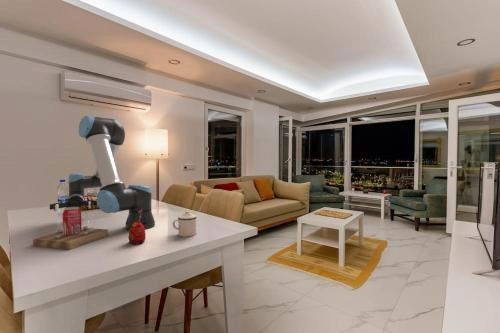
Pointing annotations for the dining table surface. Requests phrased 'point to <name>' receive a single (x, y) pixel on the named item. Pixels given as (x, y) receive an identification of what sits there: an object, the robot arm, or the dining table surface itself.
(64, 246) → the peg riser
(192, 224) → the teacup with lid
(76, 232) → the soda can
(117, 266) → the dining table surface
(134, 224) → the red clay folk toy
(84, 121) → the robot arm
